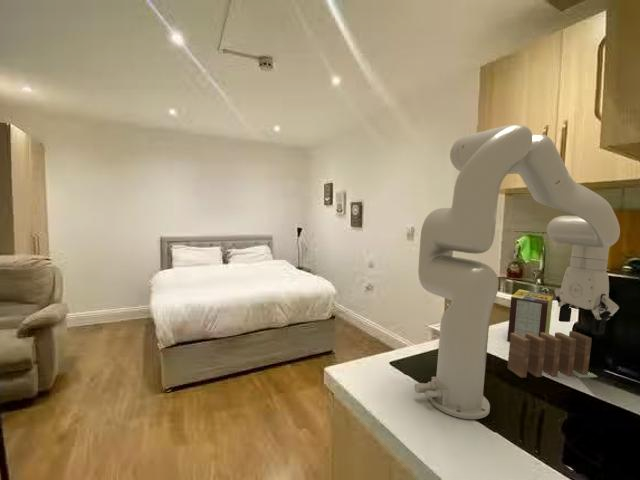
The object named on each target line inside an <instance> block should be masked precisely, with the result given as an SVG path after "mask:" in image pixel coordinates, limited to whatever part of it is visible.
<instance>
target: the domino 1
mask: <svg viewBox="0 0 640 480" xmlns="http://www.w3.org/2000/svg"><path fill="white" fill-rule="evenodd" d="M508 347H509V349H508V358H507V367H506V368H507V370H509V371H511V372H512V373H513V374H515V375H516V376H517V377H519V378H522V379H524V378H527V376H528V371H527V367H528V358H529V348H530V340H529V339H527V338H525V337H523V336H521V335H519V334H517V333H511V336H510V342H509V346H508Z"/></svg>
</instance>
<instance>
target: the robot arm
mask: <svg viewBox="0 0 640 480" xmlns="http://www.w3.org/2000/svg"><path fill="white" fill-rule="evenodd" d="M449 158H450V163H451V164H452V166H453V168H455V169H456V170H457V171H459V174H458V175H457V177H456V180H455V184H454V187H453V188H454V190H453V197H452V203H451V207H442V208H437V209H434V210H432V211H431V212H430V213H428V215H427V216H426V217H425V219H424V221H423V223H422V225H421V229H420V238H419V239H420V241H419V252H418V253H419V255H418V269H417V270H418V271H417V273H418V280H419V284H420V285H421V287H422V288H423V289H424V290H425V291H426V292H428V293H431V294H432V295H435V296H438V297H441V298H444V299H446V300H449V301H450V303H449V305H448V307H447V308H446V309H445V311H444V312H443V314H442V317H441V319H440V324H439V325H440V327H439V340H438V352H437V364H436V365H437V367H436V376H431V381H428V382H427V383H423V382H419V383H418V382H417V383H414V391H415V393H416V394H421V393H422V394H424V395H425V397H426V398H428V400H429V402H430V403H431V404H432V406H434V407H435V408H437V409H438V410H439V411H441V412H443V413H444V414H447V415H449V416H452V417H456V418H458V419H464V420H480V419H483V418H486V417H487V416H488V415H489V414H490V410H491V403H490V402H489V400H488V399H487V398H486V397H485V396H484V385H485V378H486V377H485V375H486V366H487V365H486V363H487V353H488V344H489V343H488V341H489V329H490V324H491V323H490V321H491V317H492V316H491V315H492V310H493V307H494V304H495V301H496V298H497V294H498V292H499V291H498V290H499V282H500V281H499V277H498V275H497V273H496V271H495V270H494V269H493V268H492V267H491V266H489V265H488V264H485V263H483V262H481V261H477V260H473V259H468V258H463V257H455V256H454V252H458V253H459V252H460V253H465V254H477V255H478V254H483V253H486V252H488V251H489V250H490V249H491V247H492V245H493V244H494V239H495V236H496V235H495V234H496V226H497V225H496V224H497V213H498V201H499V195H500V189H501V186H502V183H503V181H504V180H505V178H506V176H507V175H511V174H512V175H515V174H516V175H519V176H520V178H521V180H522V181H523V183H524V185H525V186H526V188H527V190H528V191H529V193H530V195H531V197H532V198H533V200H534V201H535V202H536V203H538V204H540V205H543V206H546V207H549V208H552V209H554V210H558V211H561V212H562V211H563V212H566V213H568V214H572V215H560V216H557V217H556V216H555V217H554V218H553V219H551V220H550V222H549V223H548V224H547V227H546V233H547V234H546V235H547V236H548V238H549V239H550V240H551V241H553V242H554V243H557V244H559V245H560V244H561V245H566V246H567V245H569V246H572V248H571V257H569V259H568V262H569V263H570V265H569V266H567V267H566V269H565V273H564V275H563V278H562V283H561V287H560V288H556V289H554V293H555V299H556V301H557V303H558V304H557V305H558V308H559V312H558V313H559V314H558V322H561V323H562V322H564V323H569V322H571V317H572V310H573V309H572V307H571V306H575V307H578V308H580V309H584V310H586V311H587V310H589V311H591V313H592V314H593V316H594V318H592V320H591V321H592V323H591V331H590V333H591V334H592V335H597V336H598V335H599V336H601V335H602V336H603V335H604V334H605V329H606V322H607V321H608V320H610V319H611V318H613V317H614V316H615V313H617V312H618V310H619V309H620V306H619V305H618V304H617V303H616V302H614V301H613V300H612V299H611V298H610V295H609V293H610V281H609V273H608V272H607V269H608V268H607V267H608V261H609V260H608V259H609V254H610V253H609V252H610V247H611V246H613V245H615V244H616V243H617V242H618V240H619V238H620V235H621V228H620V227H621V226H620V223H619V220H618V217H617V215H616V213H615V211H614V209H613V207H612V205H611V204H610V203H609V202H608V200H606V199H605V198H604V197H602V196H601V195H600V194H599V193H596V192H595V191H594V190H591V189H590V188H588V187H586V186H584V185H582V184H580V183H579V182H576V181H574V180H573V178H572V176H571V174H570V172H569V170H568V169H567V166H566V165H565V163H564V161H563V158H562V156H561V154H560V152H559V150H558V149H557V147H556V145H555V143H554V141H553V140H552V139H551V138H550V137H549V136H548V135H546V134H543V133H532V130H531V129H530V128H529V127H528V126H525V125H522V124H507V125H504V126H503V125H502V126H499V127H495V128H490V129H487V130H484V131H478V132H475V133H471V134H467V135H463V136H462V137H459V138H458V139H457V140H456V141H454V143H453V144H452V147H451V149H450V151H449Z"/></svg>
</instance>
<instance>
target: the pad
mask: <svg viewBox="0 0 640 480" xmlns="http://www.w3.org/2000/svg"><path fill="white" fill-rule="evenodd" d="M572 376H575V377H576V378H579V379H581V378H582V379H583V378H584V379H586V378H588V379H589V378H598V375H597V374H594V373H593V372H591V373H590V371H589V372H588V374H586V375H582V374H580V373H578V372H576V371H575V370H573V375H572Z"/></svg>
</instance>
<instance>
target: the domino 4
mask: <svg viewBox="0 0 640 480" xmlns="http://www.w3.org/2000/svg"><path fill="white" fill-rule="evenodd" d="M554 337H556V338H559V339H561V348H560V357H559V366H558V372H559V373H560V374H562V375H564V376H566V377H573V376H574V375H573V366H574V358H575V349H576V339H574V338H572V337H570V336H569V335H567V334H564V333H563V332H559V331H558V332H554Z"/></svg>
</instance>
